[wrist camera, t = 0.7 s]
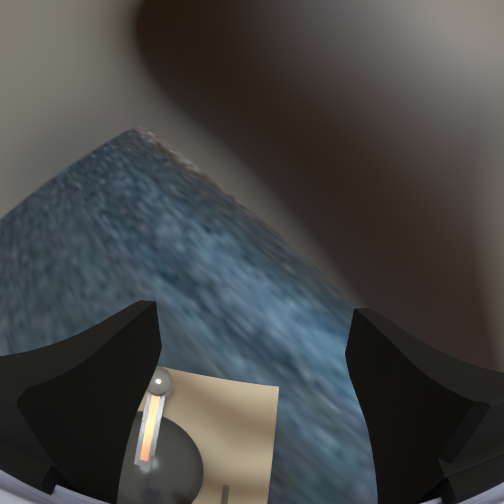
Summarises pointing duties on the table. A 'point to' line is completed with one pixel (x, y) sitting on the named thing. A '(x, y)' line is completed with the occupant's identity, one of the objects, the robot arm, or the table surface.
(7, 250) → the table surface
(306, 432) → the table surface
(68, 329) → the table surface
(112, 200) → the table surface
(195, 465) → the dial
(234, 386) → the base plate
